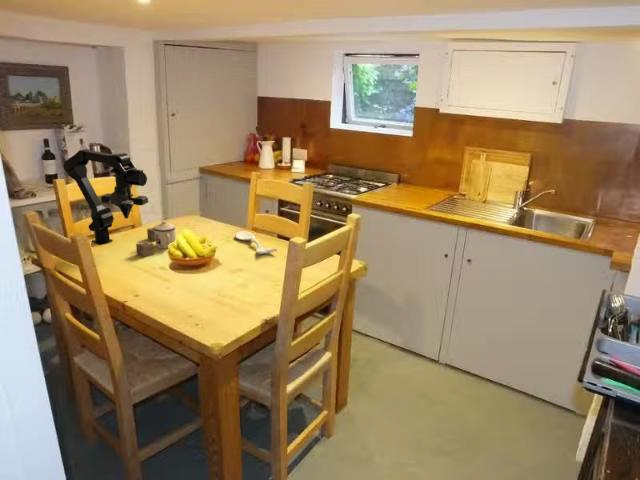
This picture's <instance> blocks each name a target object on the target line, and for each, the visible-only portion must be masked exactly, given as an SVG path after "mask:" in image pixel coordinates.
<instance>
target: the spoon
mask: <svg viewBox="0 0 640 480" xmlns="http://www.w3.org/2000/svg"><path fill="white" fill-rule="evenodd" d="M234 236H235V238H236V239H238V240H240V241H245V242H246V241H250V242H252V243H255V244H256V245H257V249H256V250H255V251H256V253H257V254H258V255H263V254H268V253H269V254H270V253H273V252H277V251H278V249H277V248H269V247H268V248H266V247H263V246H262V245H261V244H260V242H259V241H258V239H256V238H255V235H254V233H252V232H250V231H247V230H239V231H237V232H235V233H234Z"/></svg>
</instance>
